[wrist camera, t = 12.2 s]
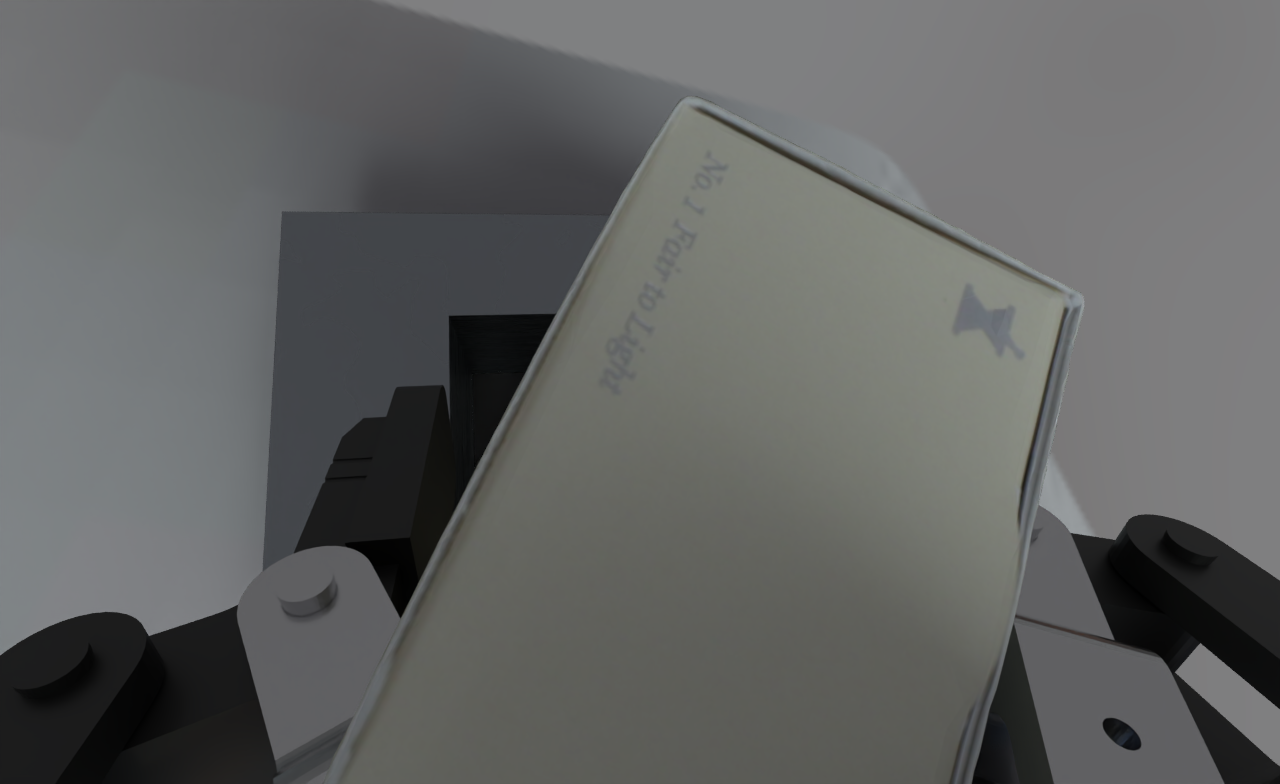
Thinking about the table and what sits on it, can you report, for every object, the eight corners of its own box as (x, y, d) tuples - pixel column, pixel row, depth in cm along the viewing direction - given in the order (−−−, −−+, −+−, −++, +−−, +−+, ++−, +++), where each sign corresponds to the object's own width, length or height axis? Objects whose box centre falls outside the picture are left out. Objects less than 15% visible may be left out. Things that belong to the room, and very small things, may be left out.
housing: (337, 822, 15) (230, 977, 10) (350, 297, 18) (274, 201, 13) (851, 739, 17) (984, 827, 12) (786, 292, 20) (871, 210, 15)
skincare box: (580, 386, 17) (678, 51, 5) (718, 453, 17) (1108, 275, 5) (472, 600, 15) (260, 810, 3) (629, 671, 15) (924, 1097, 4)
